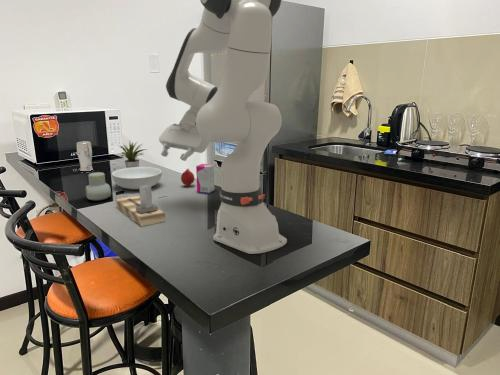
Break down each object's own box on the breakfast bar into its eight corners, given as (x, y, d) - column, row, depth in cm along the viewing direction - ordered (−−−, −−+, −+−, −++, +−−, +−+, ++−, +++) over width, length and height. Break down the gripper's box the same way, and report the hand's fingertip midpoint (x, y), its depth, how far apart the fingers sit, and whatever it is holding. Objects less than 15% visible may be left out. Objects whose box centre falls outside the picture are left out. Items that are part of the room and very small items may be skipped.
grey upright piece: (157, 209, 125) (156, 186, 123) (140, 213, 122) (138, 189, 120) (153, 206, 129) (151, 183, 126) (135, 210, 125) (134, 186, 123)
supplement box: (215, 190, 161) (214, 164, 158) (209, 194, 156) (208, 166, 153) (202, 189, 163) (201, 163, 160) (196, 192, 157) (195, 165, 154)
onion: (192, 188, 164) (191, 170, 162) (179, 187, 165) (178, 169, 163) (196, 185, 170) (195, 167, 167) (184, 184, 171) (183, 166, 169)
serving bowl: (106, 193, 156) (104, 177, 154) (121, 181, 176) (120, 166, 174) (157, 193, 156) (156, 177, 155) (166, 181, 177) (165, 166, 175)
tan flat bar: (165, 221, 125) (164, 212, 124) (141, 226, 120) (141, 217, 119) (137, 203, 143) (137, 195, 142) (116, 207, 139) (115, 199, 138)
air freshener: (112, 200, 146) (110, 175, 144) (89, 203, 142) (86, 178, 140) (107, 193, 155) (105, 170, 153) (85, 196, 152) (83, 172, 149)
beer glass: (80, 170, 197) (76, 141, 193) (94, 169, 199) (91, 140, 195) (78, 173, 191) (75, 143, 187) (93, 172, 193) (90, 142, 189)
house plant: (130, 177, 182) (128, 144, 177) (110, 174, 188) (107, 141, 184) (152, 172, 194) (150, 140, 189) (132, 169, 200) (130, 138, 196)
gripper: (166, 117, 139) (147, 148, 134) (209, 123, 128) (189, 156, 123) (176, 128, 144) (157, 158, 139) (217, 135, 133) (198, 167, 128)
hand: (172, 157), depth 131 cm, fingers open, 8 cm apart
